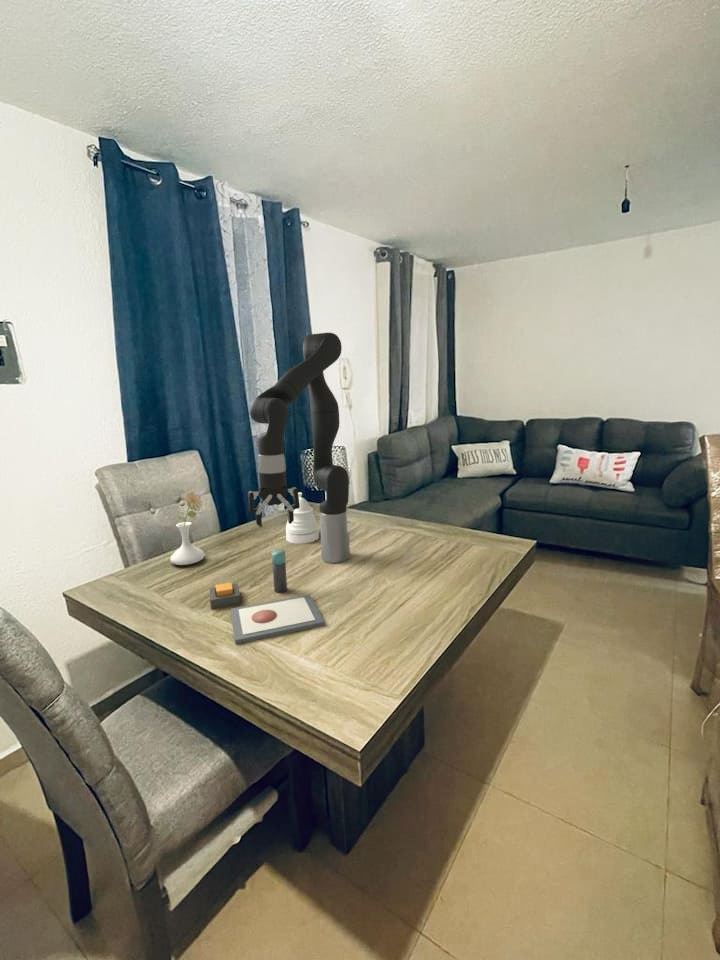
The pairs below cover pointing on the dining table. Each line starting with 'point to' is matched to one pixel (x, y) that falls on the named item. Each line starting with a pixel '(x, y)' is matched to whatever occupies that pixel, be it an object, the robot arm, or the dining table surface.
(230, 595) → the button housing
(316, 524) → the honey pot
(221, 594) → the button
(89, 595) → the dining table surface
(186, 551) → the flower in vase
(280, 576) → the marker
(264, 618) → the drawing board
